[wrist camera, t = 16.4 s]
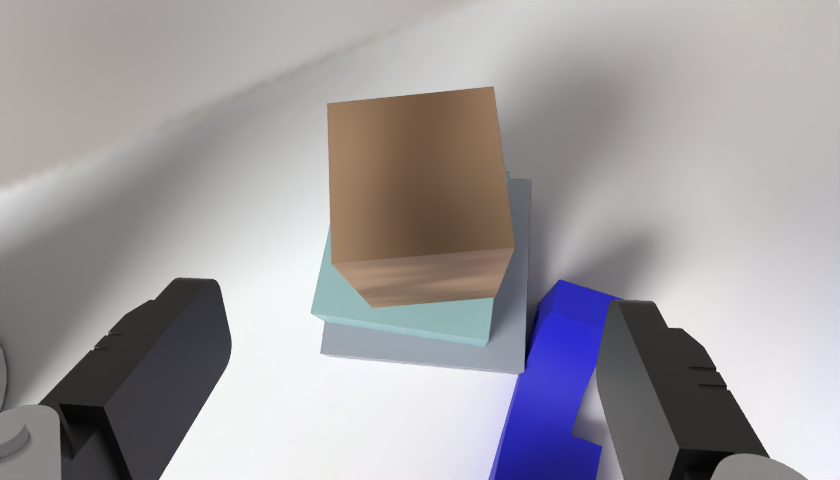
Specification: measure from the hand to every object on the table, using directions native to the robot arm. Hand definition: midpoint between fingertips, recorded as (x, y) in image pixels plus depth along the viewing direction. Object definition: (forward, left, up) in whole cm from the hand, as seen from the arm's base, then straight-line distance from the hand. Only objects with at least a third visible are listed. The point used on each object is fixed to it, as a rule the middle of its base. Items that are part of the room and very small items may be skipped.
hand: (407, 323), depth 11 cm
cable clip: (+6, -3, -18) cm, 19 cm away
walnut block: (0, +5, -12) cm, 13 cm away
